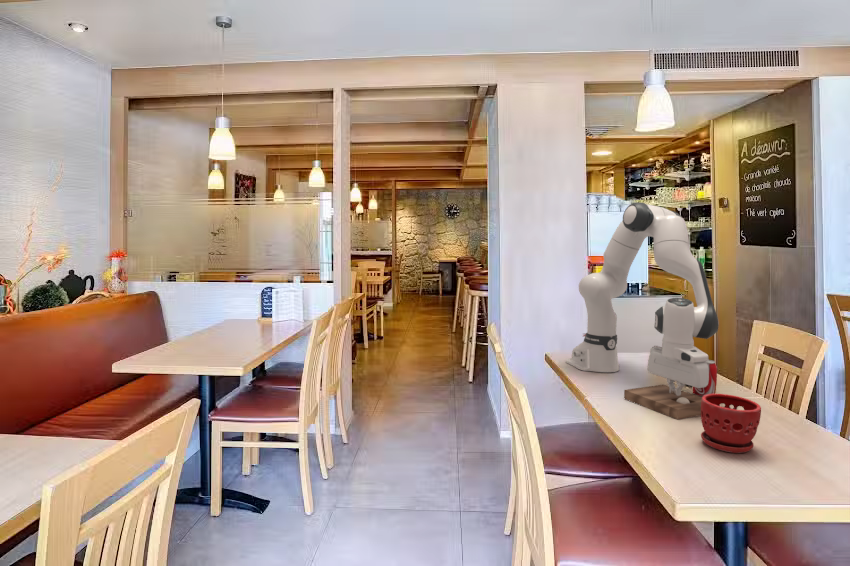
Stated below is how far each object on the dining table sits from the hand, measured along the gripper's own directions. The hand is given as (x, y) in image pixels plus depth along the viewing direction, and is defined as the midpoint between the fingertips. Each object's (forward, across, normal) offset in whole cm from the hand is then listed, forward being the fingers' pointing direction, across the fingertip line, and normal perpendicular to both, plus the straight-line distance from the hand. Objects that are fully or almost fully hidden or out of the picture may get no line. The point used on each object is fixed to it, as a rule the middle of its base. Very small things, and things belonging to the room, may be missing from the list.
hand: (675, 394), depth 163 cm
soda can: (+4, -5, +19) cm, 20 cm away
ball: (+2, +3, 0) cm, 4 cm away
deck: (+4, -2, 0) cm, 5 cm away
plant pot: (+4, +28, -13) cm, 31 cm away
